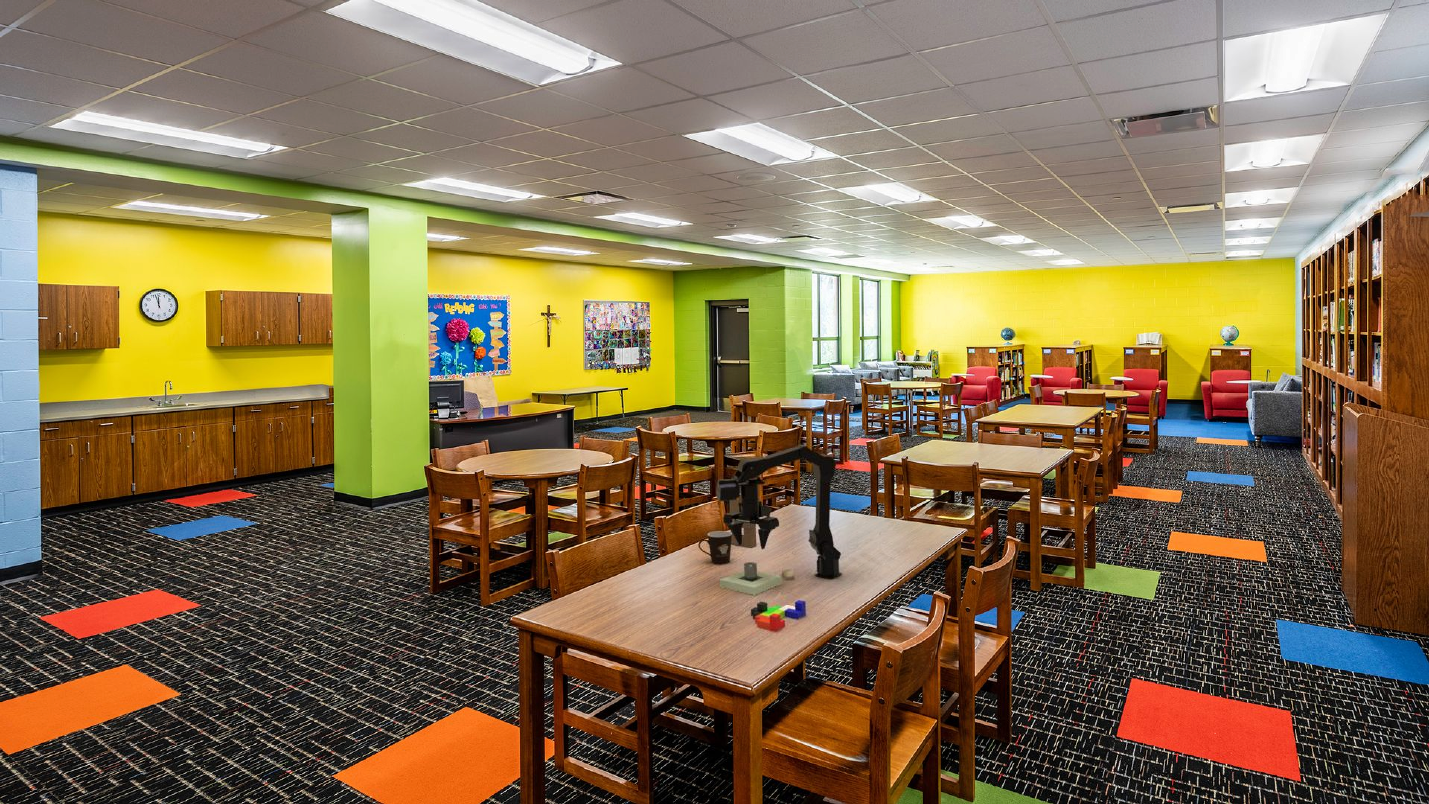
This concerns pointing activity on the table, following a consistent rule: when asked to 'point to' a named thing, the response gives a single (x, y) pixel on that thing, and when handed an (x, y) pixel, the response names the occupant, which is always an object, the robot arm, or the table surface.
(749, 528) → the wooden block
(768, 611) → the building blocks
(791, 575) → the short birch pin
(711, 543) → the coffee mug
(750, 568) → the long steel pin
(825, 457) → the robot arm
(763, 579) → the hole board
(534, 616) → the table surface
